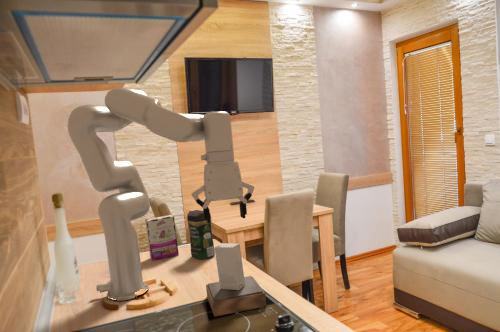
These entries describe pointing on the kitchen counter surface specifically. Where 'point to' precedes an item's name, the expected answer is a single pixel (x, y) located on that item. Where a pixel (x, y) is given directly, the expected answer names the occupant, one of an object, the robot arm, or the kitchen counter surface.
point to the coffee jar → (200, 235)
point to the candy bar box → (161, 237)
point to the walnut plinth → (235, 297)
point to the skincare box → (230, 266)
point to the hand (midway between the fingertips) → (225, 219)
